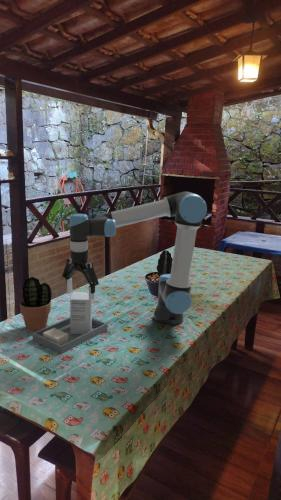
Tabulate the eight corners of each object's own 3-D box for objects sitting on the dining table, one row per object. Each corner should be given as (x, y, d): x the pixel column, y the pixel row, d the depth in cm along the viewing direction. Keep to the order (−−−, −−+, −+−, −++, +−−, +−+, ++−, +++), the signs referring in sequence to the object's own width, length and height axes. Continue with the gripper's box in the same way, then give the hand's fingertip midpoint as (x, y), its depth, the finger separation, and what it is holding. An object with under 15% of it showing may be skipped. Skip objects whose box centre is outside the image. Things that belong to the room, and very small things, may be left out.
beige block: (68, 342, 156) (68, 334, 155) (57, 348, 151) (57, 339, 150) (54, 336, 161) (54, 327, 160) (43, 341, 156) (43, 332, 155)
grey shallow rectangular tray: (107, 331, 169) (107, 323, 168) (61, 355, 147) (61, 346, 146) (79, 320, 180) (79, 312, 179) (32, 341, 157) (32, 333, 156)
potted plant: (35, 338, 161) (33, 284, 154) (14, 329, 167) (12, 277, 161) (57, 327, 172) (56, 276, 166) (37, 319, 179) (35, 270, 173)
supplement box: (72, 325, 172) (72, 291, 168) (92, 325, 173) (92, 291, 169) (70, 334, 163) (69, 299, 159) (90, 334, 164) (91, 299, 159)
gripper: (106, 253, 154) (107, 300, 159) (65, 244, 168) (67, 287, 173) (94, 256, 148) (95, 305, 153) (53, 247, 162) (55, 292, 167)
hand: (80, 296), depth 163 cm, fingers open, 13 cm apart
